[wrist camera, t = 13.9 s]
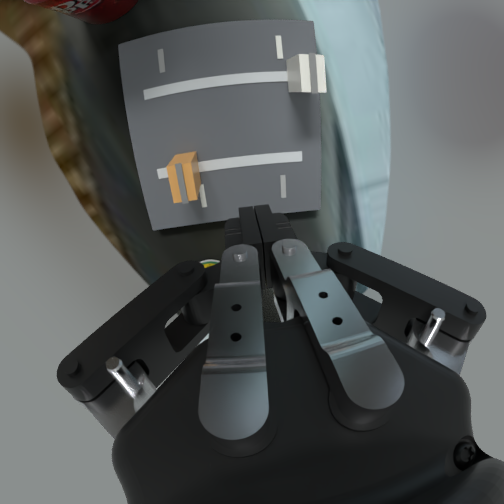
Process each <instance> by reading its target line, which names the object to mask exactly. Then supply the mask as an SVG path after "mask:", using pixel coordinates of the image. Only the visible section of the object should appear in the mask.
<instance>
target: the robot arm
mask: <svg viewBox="0 0 504 504" xmlns="http://www.w3.org/2000/svg"><path fill="white" fill-rule="evenodd" d="M238 210H239V217H237V218H229V219H228V220H227V221H226V223H225V251H224V252H223V255H222V260H221V261H220V262H218V263H217V264H215V265H212V266H209V267H207V268H205V267H204V265H203V264H202V263H200V262H198V261H185V262H182V263H179V264H177V265H176V266H174V267H173V268H172V269H170V270H169V271H168V272H167V273H165V274H164V275H163V276H162V277H160V278H159V279H158V280H157V281H155V282H154V283H153V284H152V285H150V286H149V287H148V288H147V289H145V290H144V291H143V292H142V293H140V294H139V295H138V296H137V297H136V298H134V299H133V300H132V301H131V302H129V303H128V304H127V305H126V306H125V307H123V308H122V309H121V310H120V311H119V312H117V313H116V314H115V315H114V316H113V317H111V318H110V319H109V320H108V321H107V322H105V323H104V324H103V325H102V326H101V327H99V328H98V329H97V330H96V331H95V332H94V333H92V334H91V335H90V336H89V337H88V338H87V339H86V340H84V341H83V342H82V343H81V344H80V345H79V346H77V347H76V348H75V349H74V350H73V351H72V352H71V353H70V354H69V355H67V356H66V357H65V358H64V359H63V360H62V361H61V363H60V364H59V367H58V370H57V379H58V381H59V383H60V384H61V385H62V386H63V387H64V388H65V389H66V390H67V391H68V392H69V393H70V394H71V395H72V396H73V398H74V399H75V400H77V401H78V402H79V403H80V404H81V405H82V406H83V407H85V408H86V409H87V410H88V411H89V412H90V413H92V414H93V416H94V417H95V418H96V419H97V420H98V421H99V423H100V424H101V425H102V426H103V427H104V428H105V429H106V430H107V432H108V433H109V434H110V435H111V436H112V437H113V438H114V439H115V441H114V443H113V448H112V462H113V466H114V470H115V472H116V474H117V476H118V479H119V481H120V483H121V485H122V487H123V490H124V492H125V495H126V498H127V502H128V504H504V462H503V461H501V460H498V459H495V458H493V457H491V456H489V455H487V454H486V453H485V452H483V451H482V450H481V449H480V448H479V447H478V445H477V444H476V442H475V440H474V437H473V432H472V426H471V398H470V393H469V390H468V387H467V385H466V383H465V382H464V380H463V379H462V378H461V377H460V372H461V369H462V366H463V363H464V360H465V357H466V353H467V350H468V346H469V344H470V343H471V341H472V340H473V338H474V337H475V335H476V334H477V332H478V331H479V329H480V328H481V326H482V324H483V323H484V321H485V319H486V311H485V309H484V307H483V305H482V304H481V303H480V302H479V301H478V300H476V299H474V298H472V297H470V296H468V295H466V294H464V293H462V292H460V291H458V290H456V289H454V288H452V287H450V286H447V285H445V284H443V283H441V282H439V281H437V280H435V279H432V278H430V277H428V276H426V275H423V274H421V273H419V272H417V271H414V270H412V269H410V268H408V267H406V266H403V265H401V264H398V263H396V262H394V261H392V260H389V259H387V258H385V257H382V256H380V255H378V254H375V253H373V252H370V251H368V250H366V249H363V248H361V247H358V246H356V245H353V244H351V243H345V242H339V243H334V244H332V245H330V246H329V248H328V250H327V253H321V252H313V251H309V249H308V248H307V246H306V245H305V243H303V242H302V241H300V240H297V237H296V235H295V233H294V231H293V229H292V227H291V225H290V223H289V221H288V218H287V217H286V216H285V215H283V214H282V213H272V212H271V209H270V206H269V204H265V205H256V206H254V209H253V206H248V207H239V208H238ZM265 281H266V286H267V288H273V290H274V302H275V305H276V308H277V311H278V314H279V316H280V319H281V322H263V309H262V297H263V290H262V289H265ZM357 282H359V283H361V284H363V285H365V286H367V287H369V288H371V289H373V290H375V291H377V292H379V293H380V295H381V296H382V299H383V302H382V304H381V303H379V302H377V301H375V300H373V299H371V298H369V297H367V296H365V295H363V294H361V293H359V292H357V291H355V289H356V285H357ZM180 309H181V311H182V313H181V314H180V315H179V316H178V317H177V318H176V319H175V320H174V321H173V322H171V323H170V324H169V325H168V326H167V327H166V328H165V325H166V323H167V321H168V320H169V319H170V318H171V317H172V316H173V315H174V314H176V313H177V312H178V311H179V310H180ZM208 333H209V338H208V339H206V340H204V341H203V342H202V343H200V342H201V341H202V340H203V339H204V338H205V337H206V336H207V334H208ZM199 343H200V344H199ZM198 344H199V345H198ZM197 345H198V346H197ZM181 362H182V363H181ZM180 363H181V364H180ZM179 364H180V365H179ZM178 365H179V366H178ZM177 366H178V367H177ZM176 367H177V368H176ZM175 368H176V369H175ZM174 369H175V370H174ZM173 370H174V372H173V373H172V374H171V375H170V376H169V377H168V378H167V379H166V377H167V376H168V375H169V374H170V373H171V372H172V371H173ZM165 379H166V380H165ZM164 380H165V381H164ZM163 381H164V383H163V384H162V385H161V386H160V387H159V388H158V389H157V390H156V388H157V387H158V386H159V385H160V384H161V383H162V382H163Z"/></svg>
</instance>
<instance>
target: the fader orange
mask: <svg viewBox="0 0 504 504" xmlns="http://www.w3.org/2000/svg"><path fill="white" fill-rule="evenodd" d="M166 168H167V173H168V178H169V183H170V188H171V192H172V197H173V202H174V203H179V202H182V204H186V203H189V201H192V200H197V199H198V194H199V190H200V186H201V179H200V173H199V166H198V160H197V153H196V151H195V152H188V153H183V154H177V155H175V156H174V157H173V159H172V160H171V161H170V162H169V164H168V165H167V166H166Z"/></svg>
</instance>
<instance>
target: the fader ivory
mask: <svg viewBox="0 0 504 504" xmlns="http://www.w3.org/2000/svg"><path fill="white" fill-rule="evenodd" d="M286 65H287V77H288V90H289V92H311V93H317V94H318V92H325V93H326V77H325V63H324V55H316V54H315V53H308V54H298V55H296V56H294V57H292V58H290V59H288V60H286Z"/></svg>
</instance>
